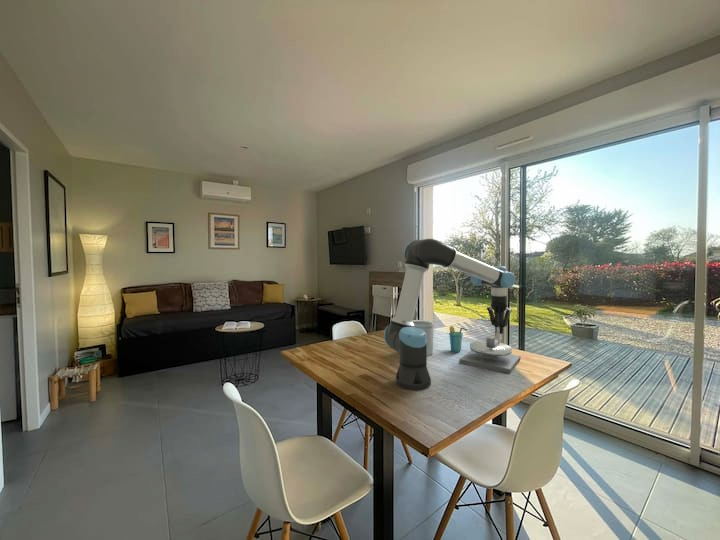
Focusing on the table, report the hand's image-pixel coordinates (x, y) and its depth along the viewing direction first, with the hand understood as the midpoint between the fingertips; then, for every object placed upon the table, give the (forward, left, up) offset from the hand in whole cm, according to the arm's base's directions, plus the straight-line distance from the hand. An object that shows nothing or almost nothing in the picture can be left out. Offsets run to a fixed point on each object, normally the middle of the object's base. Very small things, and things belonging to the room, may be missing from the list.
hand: (499, 339), depth 162 cm
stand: (-3, -6, -11) cm, 13 cm away
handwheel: (-3, -6, -5) cm, 9 cm away
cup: (-23, 0, -11) cm, 25 cm away
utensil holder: (-39, -14, -11) cm, 43 cm away
